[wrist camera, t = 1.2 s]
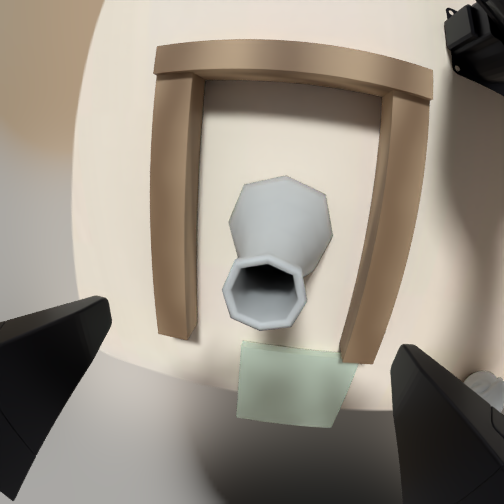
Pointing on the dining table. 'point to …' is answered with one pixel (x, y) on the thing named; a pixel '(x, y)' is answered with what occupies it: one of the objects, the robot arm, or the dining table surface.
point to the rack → (303, 72)
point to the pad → (291, 385)
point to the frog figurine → (487, 388)
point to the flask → (275, 250)
